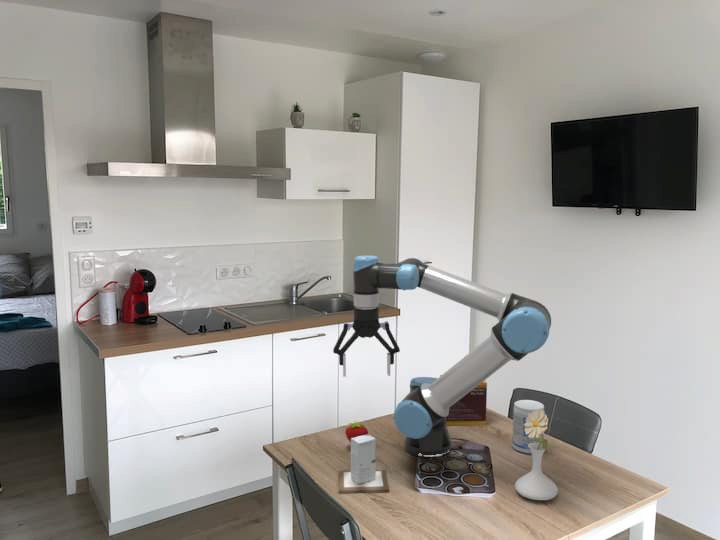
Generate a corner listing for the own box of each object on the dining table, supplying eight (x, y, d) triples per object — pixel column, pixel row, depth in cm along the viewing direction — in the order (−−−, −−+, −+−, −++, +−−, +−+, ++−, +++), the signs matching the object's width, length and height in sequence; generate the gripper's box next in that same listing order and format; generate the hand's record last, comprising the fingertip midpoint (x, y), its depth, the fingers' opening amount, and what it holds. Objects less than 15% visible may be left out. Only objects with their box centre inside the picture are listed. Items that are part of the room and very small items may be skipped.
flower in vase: (510, 483, 170) (512, 399, 167) (551, 484, 170) (554, 399, 167) (521, 508, 158) (523, 416, 154) (565, 508, 157) (568, 416, 154)
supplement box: (486, 425, 213) (487, 382, 211) (443, 426, 213) (443, 383, 211) (480, 414, 223) (481, 373, 221) (439, 415, 223) (439, 374, 221)
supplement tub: (524, 456, 188) (526, 411, 186) (506, 445, 196) (507, 401, 194) (549, 451, 191) (551, 407, 189) (530, 440, 200) (531, 397, 198)
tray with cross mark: (385, 472, 178) (385, 468, 178) (389, 492, 166) (389, 488, 166) (338, 473, 178) (338, 469, 178) (338, 493, 166) (338, 489, 166)
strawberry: (365, 453, 191) (365, 423, 190) (343, 450, 193) (342, 420, 192) (370, 446, 196) (370, 416, 195) (348, 443, 199) (348, 414, 197)
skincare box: (358, 484, 168) (358, 443, 167) (350, 478, 172) (349, 438, 170) (376, 479, 172) (376, 438, 170) (367, 472, 175) (367, 433, 174)
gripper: (405, 303, 186) (405, 370, 189) (325, 305, 185) (326, 371, 188) (408, 308, 178) (408, 377, 181) (324, 309, 177) (325, 379, 180)
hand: (366, 375), depth 184 cm, fingers open, 13 cm apart
